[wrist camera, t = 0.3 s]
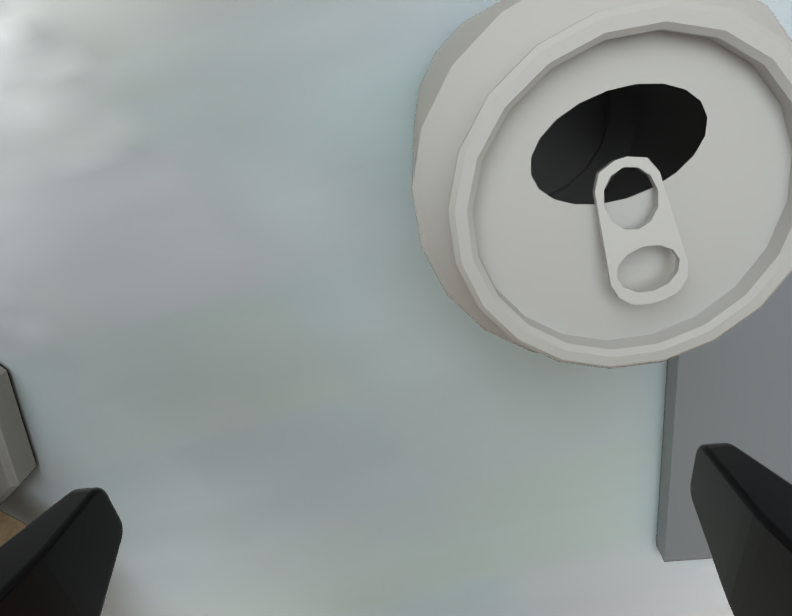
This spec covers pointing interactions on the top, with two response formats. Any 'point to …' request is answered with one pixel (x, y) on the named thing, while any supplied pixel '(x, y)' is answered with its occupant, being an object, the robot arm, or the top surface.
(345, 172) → the top surface
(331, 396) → the top surface
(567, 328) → the can
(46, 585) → the robot arm
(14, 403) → the tankard
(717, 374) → the baseplate
